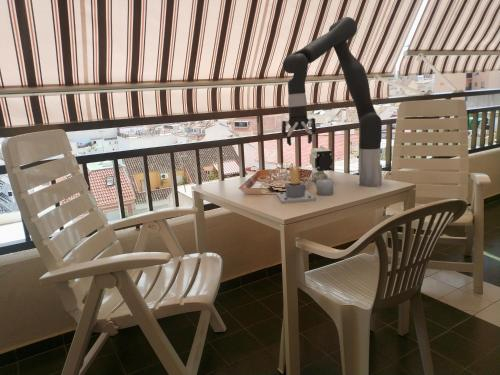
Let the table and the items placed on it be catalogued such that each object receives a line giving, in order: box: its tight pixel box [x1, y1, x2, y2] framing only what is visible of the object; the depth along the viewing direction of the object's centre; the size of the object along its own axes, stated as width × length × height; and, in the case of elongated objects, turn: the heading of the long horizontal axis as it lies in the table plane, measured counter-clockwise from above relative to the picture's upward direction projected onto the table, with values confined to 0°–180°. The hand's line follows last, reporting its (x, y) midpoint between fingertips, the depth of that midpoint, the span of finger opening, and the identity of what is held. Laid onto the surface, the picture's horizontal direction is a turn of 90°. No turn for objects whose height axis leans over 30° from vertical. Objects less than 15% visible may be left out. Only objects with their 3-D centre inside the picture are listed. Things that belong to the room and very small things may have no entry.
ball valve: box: [309, 145, 333, 182], centre depth 190 cm, size 18×8×18 cm, turn 2°
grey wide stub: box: [316, 178, 334, 197], centre depth 166 cm, size 7×7×6 cm
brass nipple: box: [289, 166, 300, 186], centre depth 161 cm, size 4×4×12 cm
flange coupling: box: [276, 182, 316, 204], centre depth 162 cm, size 14×14×6 cm
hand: (299, 144), depth 160 cm, fingers open, 8 cm apart
